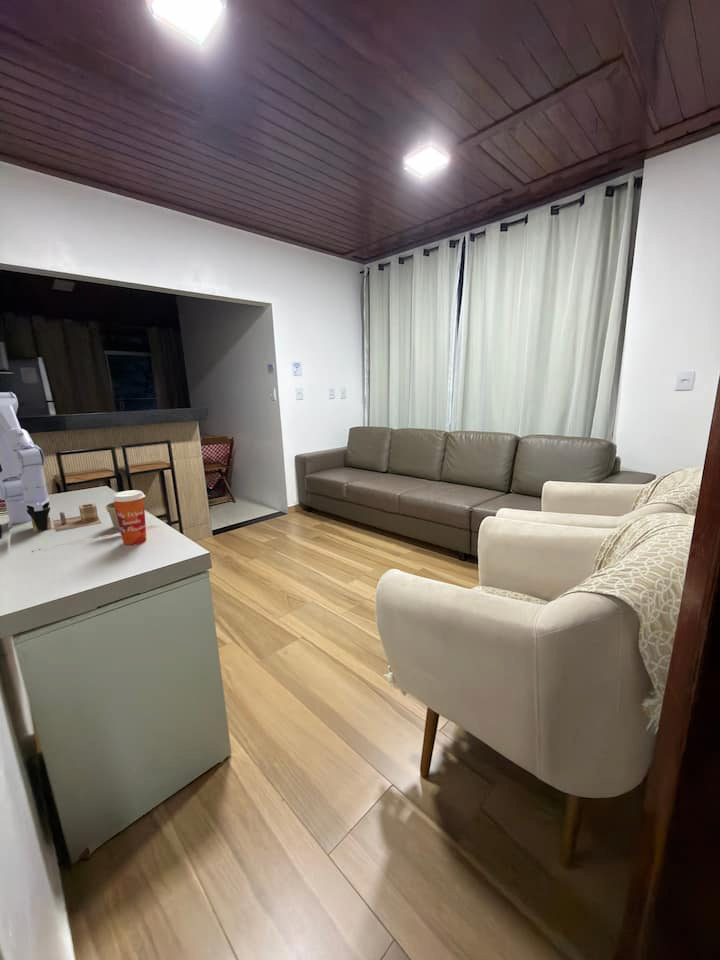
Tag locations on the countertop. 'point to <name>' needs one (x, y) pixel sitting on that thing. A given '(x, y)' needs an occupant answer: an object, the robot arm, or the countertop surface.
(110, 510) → the flower pot
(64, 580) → the countertop surface
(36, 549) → the countertop surface
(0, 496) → the robot arm
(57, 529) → the pin board
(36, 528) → the sleeve
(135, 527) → the coffee cup
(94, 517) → the seated sleeve
